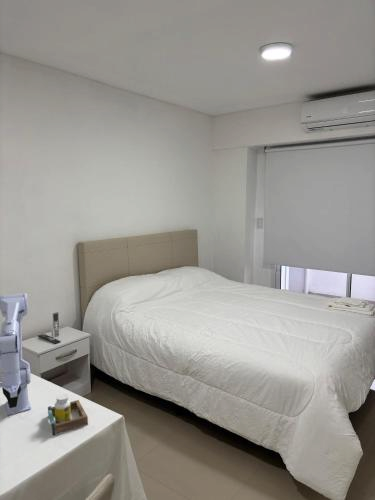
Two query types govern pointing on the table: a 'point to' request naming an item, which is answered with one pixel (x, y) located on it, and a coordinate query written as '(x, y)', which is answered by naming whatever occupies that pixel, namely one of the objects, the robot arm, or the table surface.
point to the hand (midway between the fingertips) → (12, 406)
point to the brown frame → (73, 422)
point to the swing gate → (50, 416)
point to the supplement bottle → (62, 409)
